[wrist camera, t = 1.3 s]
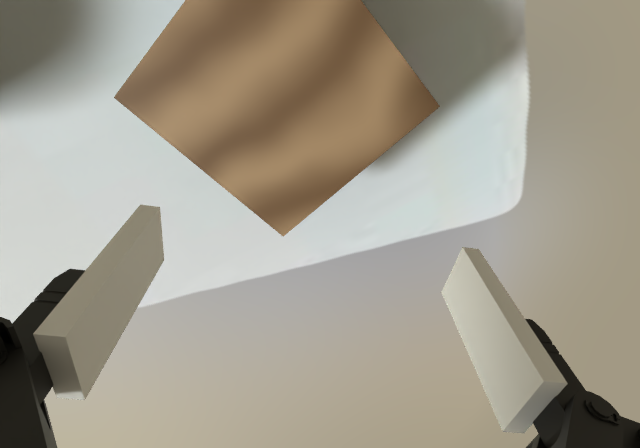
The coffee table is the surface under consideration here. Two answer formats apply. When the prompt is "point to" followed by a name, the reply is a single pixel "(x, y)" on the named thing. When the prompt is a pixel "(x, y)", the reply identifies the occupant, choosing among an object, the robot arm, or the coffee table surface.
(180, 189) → the coffee table surface
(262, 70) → the stool
